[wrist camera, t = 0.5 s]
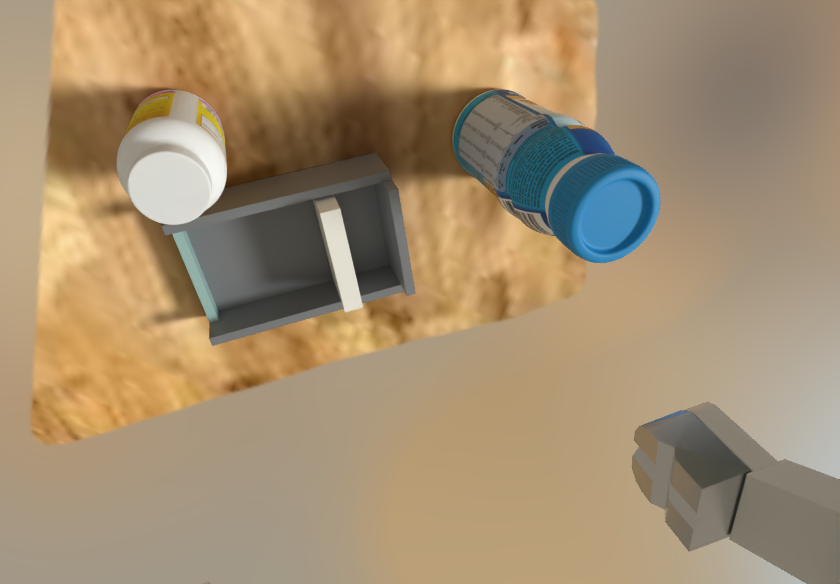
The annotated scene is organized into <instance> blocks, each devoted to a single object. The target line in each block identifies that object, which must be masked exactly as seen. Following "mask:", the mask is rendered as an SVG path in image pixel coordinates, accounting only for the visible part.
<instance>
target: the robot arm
mask: <svg viewBox="0 0 840 584" xmlns="http://www.w3.org/2000/svg"><path fill="white" fill-rule="evenodd" d="M634 441H635V442H636V443H637V444H638V446H639V448H638V449H637V451H636V452H635V453H634V454H633V457H632V470H633V473H634V476H635V479H636V482H637V484H638V485H639V487H640V489H641V491H642V492H643V493H644V495H645V496H646V498H647V499H648V500H649V502H650V503H652V504H654V505H657V506H659V507H661V508H663V509H665V522H666V523H667V525H668V526H669V527H670V528H671V529H672V531H673V532H674V533H675V535H676V536H677V537H678V538H679V540H680V541H681V542H682V543H683V545H684V546H685V547H686V548H687V550H688V551H692V550H695V549H698V548H700V547H703V546H706V545H708V544H711V543H713V542H716V541H719V540H722V539H724V538H727V537H730V540H732V541H733V542H735V543H737V544H738V545H740V546H742V547H744V548H746V549H747V550H749V551H751V552H752V553H754V554H756V555H758V556H759V557H761V558H763V559H765V560H766V561H768V562H770V563H772V564H773V565H775V566H777V567H779V568H780V569H782V570H784V571H786V572H787V573H789V574H791V575H793V576H794V577H796V578H798V579H800V580H802V581H803V582H805V583H807V584H840V479H837V478H834V477H831V476H829V475H826V474H824V473H821V472H818V471H816V470H813V469H810V468H807V467H805V466H802V465H799V464H796V463H794V462H791V461H788V460H786V459H784V460H781V461H777V460H776V459H775V458H774V457H773V456H771V455H770V454H769V453H768V452H767V451H766V450H765V449H764V448H763V447H761V446H760V445H759V444H758V443H757V442H756V441H755V440H754V439H752V438H751V437H750V436H749V435H748V434H747V433H746V432H745V431H744V430H743V429H741V428H740V427H739V426H738V425H737V424H736V423H735V422H734V421H732V420H731V419H730V418H729V417H728V416H727V415H726V414H725V413H724V412H723V411H721V410H720V409H719V408H718V407H717V406H715V405H714V404H712V403H710V402H705V403H702V404H699V405H697V406H694V407H691V408H689V409H686V410H683V411H682V410H681V411H678V412H675V413H673V414H670V415H668V416H665V417H662V418H660V419H657V420H655V421H652V422H649V423H646V424H644V425H641V426H639V427H638V428H637V429H636V431H635V437H634ZM203 584H210V583H209V582H206V583H203Z"/></svg>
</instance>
